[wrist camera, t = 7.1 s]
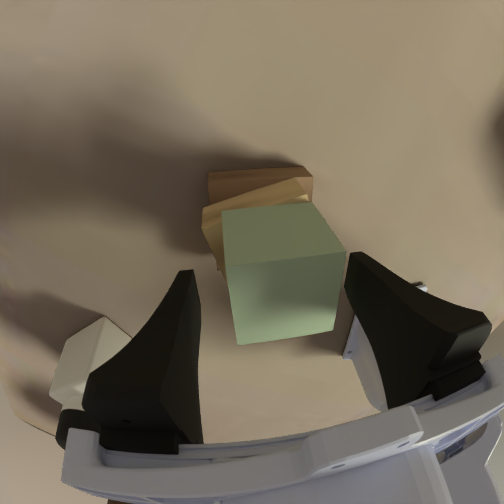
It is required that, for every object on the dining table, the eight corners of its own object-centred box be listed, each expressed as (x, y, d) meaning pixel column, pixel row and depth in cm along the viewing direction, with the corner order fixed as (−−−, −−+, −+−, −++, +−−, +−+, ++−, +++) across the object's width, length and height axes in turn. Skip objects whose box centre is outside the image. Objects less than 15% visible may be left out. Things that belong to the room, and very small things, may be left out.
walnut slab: (298, 242, 21) (307, 261, 19) (217, 249, 21) (217, 270, 19) (301, 164, 18) (313, 176, 16) (208, 170, 18) (207, 183, 16)
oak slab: (312, 252, 19) (324, 275, 17) (234, 278, 19) (237, 303, 17) (294, 177, 16) (307, 194, 14) (202, 207, 16) (201, 229, 14)
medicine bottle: (65, 338, 24) (35, 441, 14) (104, 313, 23) (72, 439, 13) (115, 374, 28) (100, 471, 18) (158, 356, 26) (150, 470, 16)
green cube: (308, 272, 17) (332, 330, 13) (230, 282, 16) (237, 345, 13) (311, 201, 14) (346, 251, 10) (221, 211, 14) (225, 266, 10)
